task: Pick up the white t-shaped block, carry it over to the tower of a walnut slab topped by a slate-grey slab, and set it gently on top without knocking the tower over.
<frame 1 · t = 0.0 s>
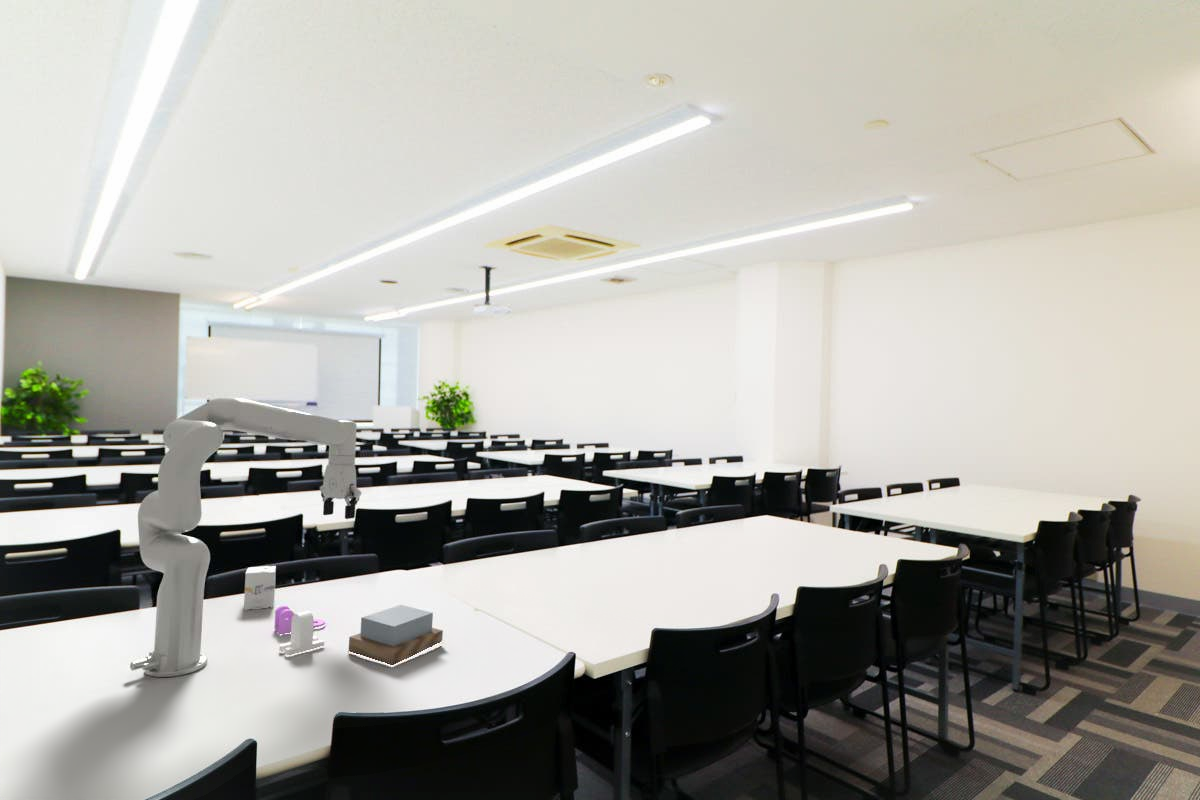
hand: (338, 516, 195), 31 cm above the table, tool pointing down, fingers open, 9 cm apart
bottom block: (396, 652, 172), on the table, touching top block
white t-shaped block: (301, 650, 169), on the table
ink box: (259, 606, 204), on the table
bracket: (301, 630, 185), on the table
top block: (396, 633, 172), point 4 cm above the table, touching bottom block
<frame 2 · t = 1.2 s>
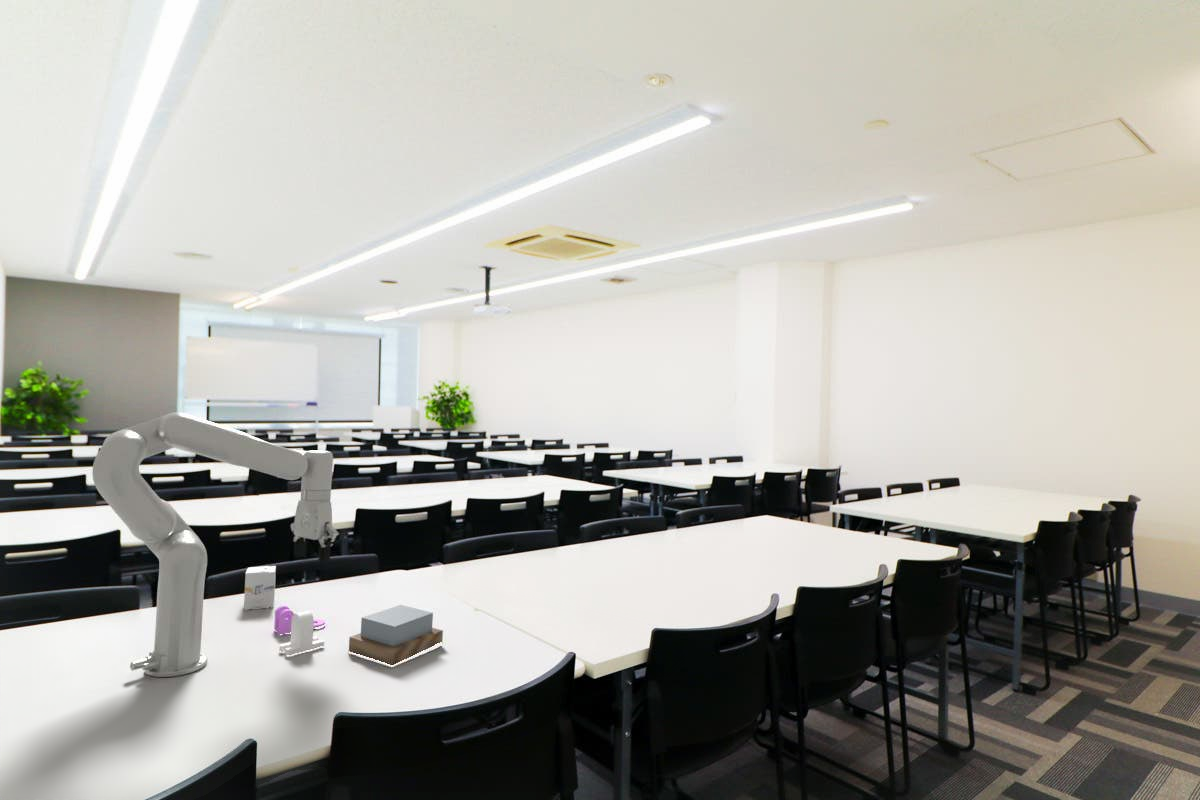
hand: (311, 558, 174), 23 cm above the table, tool pointing down, fingers open, 9 cm apart
nothing on the table moved.
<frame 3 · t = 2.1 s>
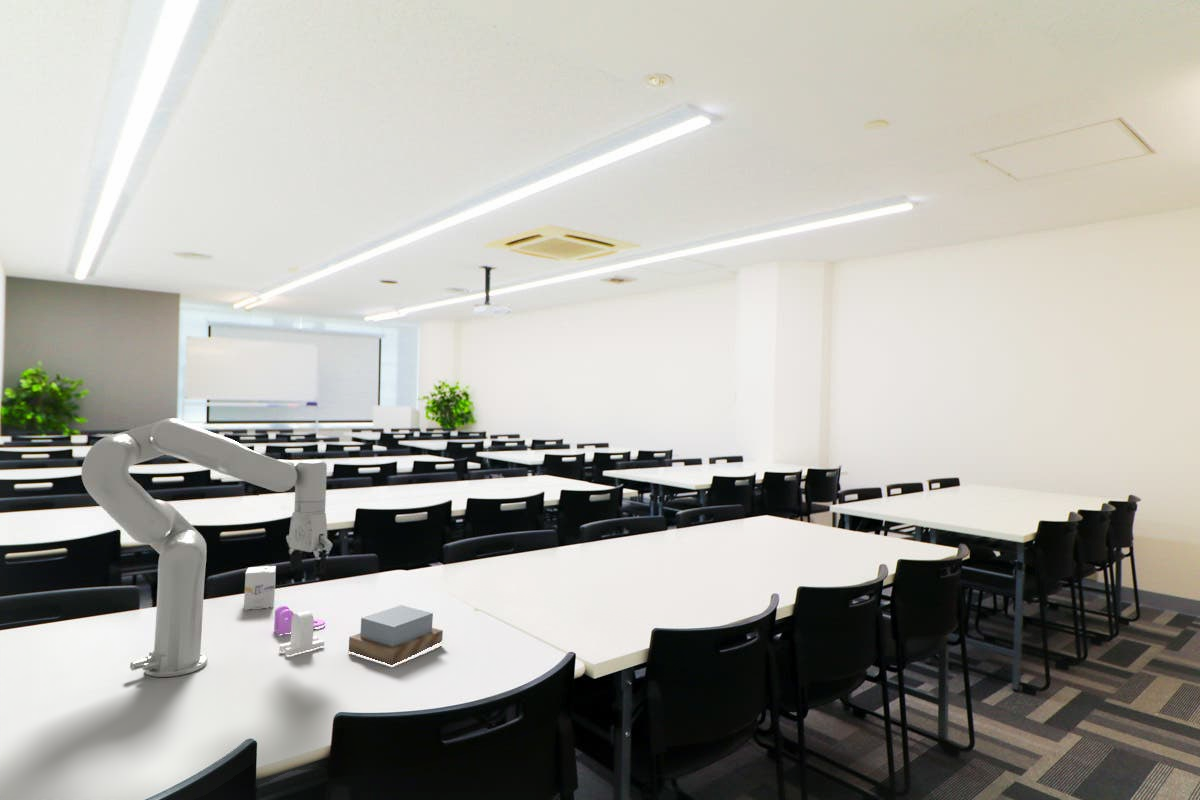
hand: (307, 571, 170), 21 cm above the table, tool pointing down, fingers open, 9 cm apart
bottom block: (396, 652, 172), on the table
top block: (396, 634, 172), point 4 cm above the table
everything else where it was.
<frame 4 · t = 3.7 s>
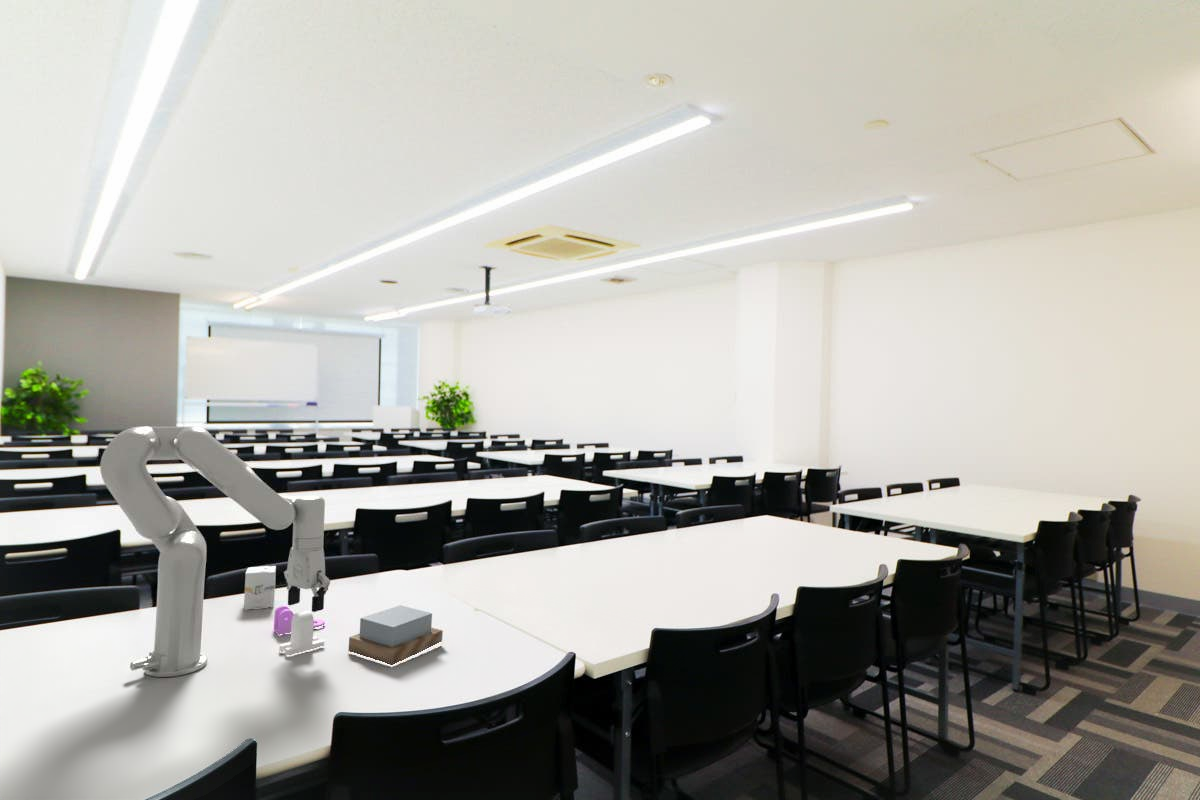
hand: (305, 607, 170), 11 cm above the table, tool pointing down, fingers open, 9 cm apart
bottom block: (396, 652, 172), on the table, touching top block
top block: (395, 634, 172), point 4 cm above the table, touching bottom block
everything else where it was.
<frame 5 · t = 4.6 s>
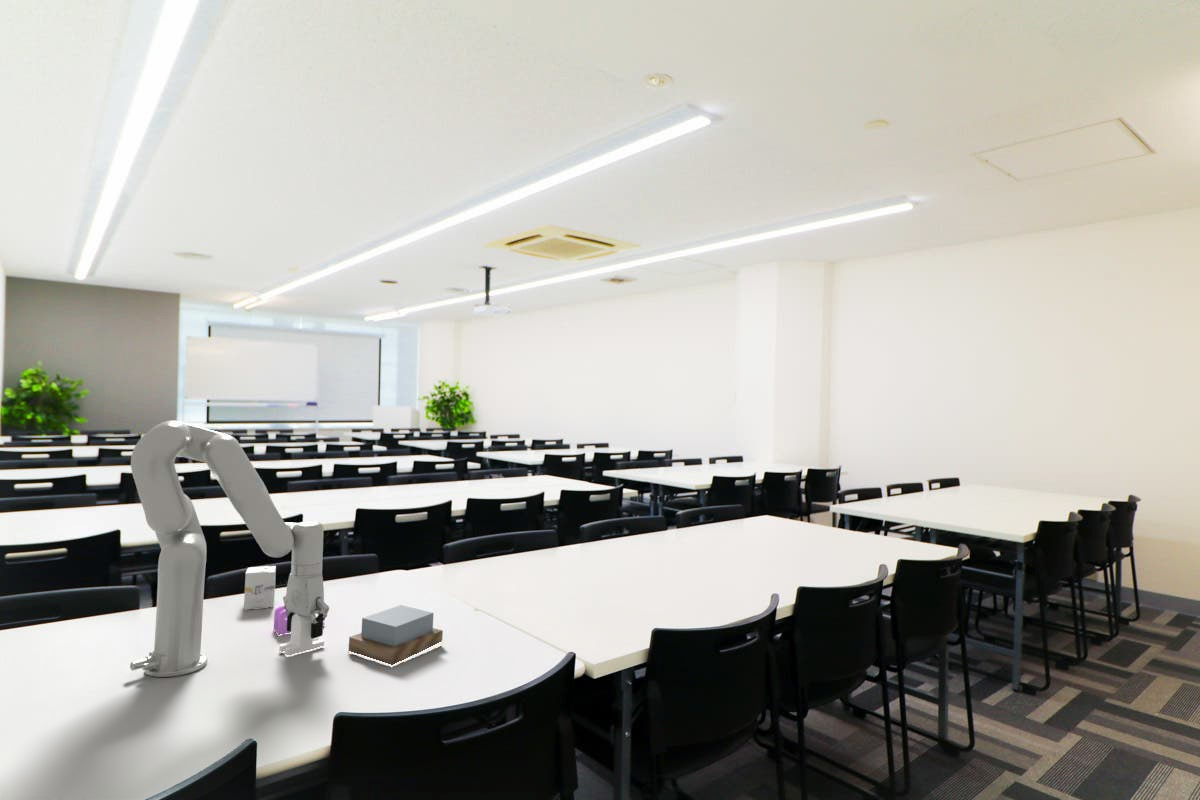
hand: (304, 633, 170), 4 cm above the table, tool pointing down, fingers open, 9 cm apart
nothing on the table moved.
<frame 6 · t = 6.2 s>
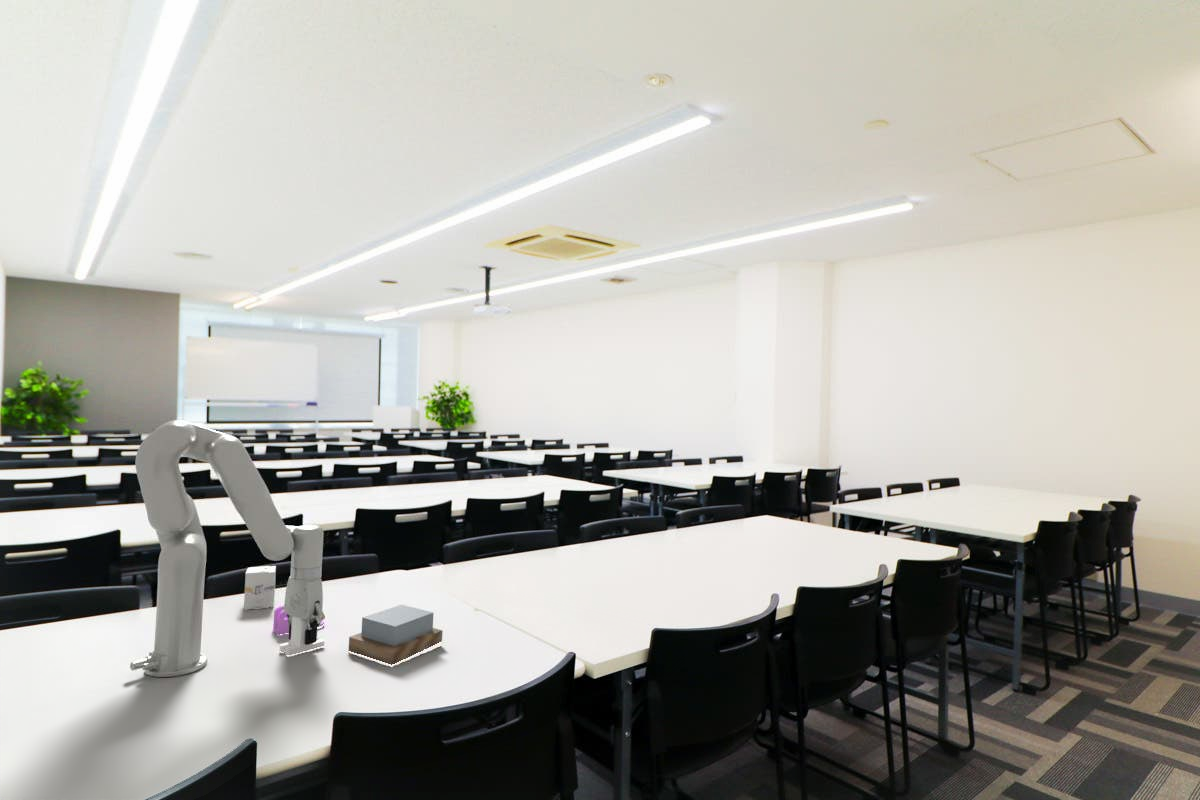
hand: (302, 640, 169), 3 cm above the table, tool pointing down, fingers closed on white t-shaped block, 5 cm apart
white t-shaped block: (302, 650, 169), on the table, touching gripper
everything else where it was.
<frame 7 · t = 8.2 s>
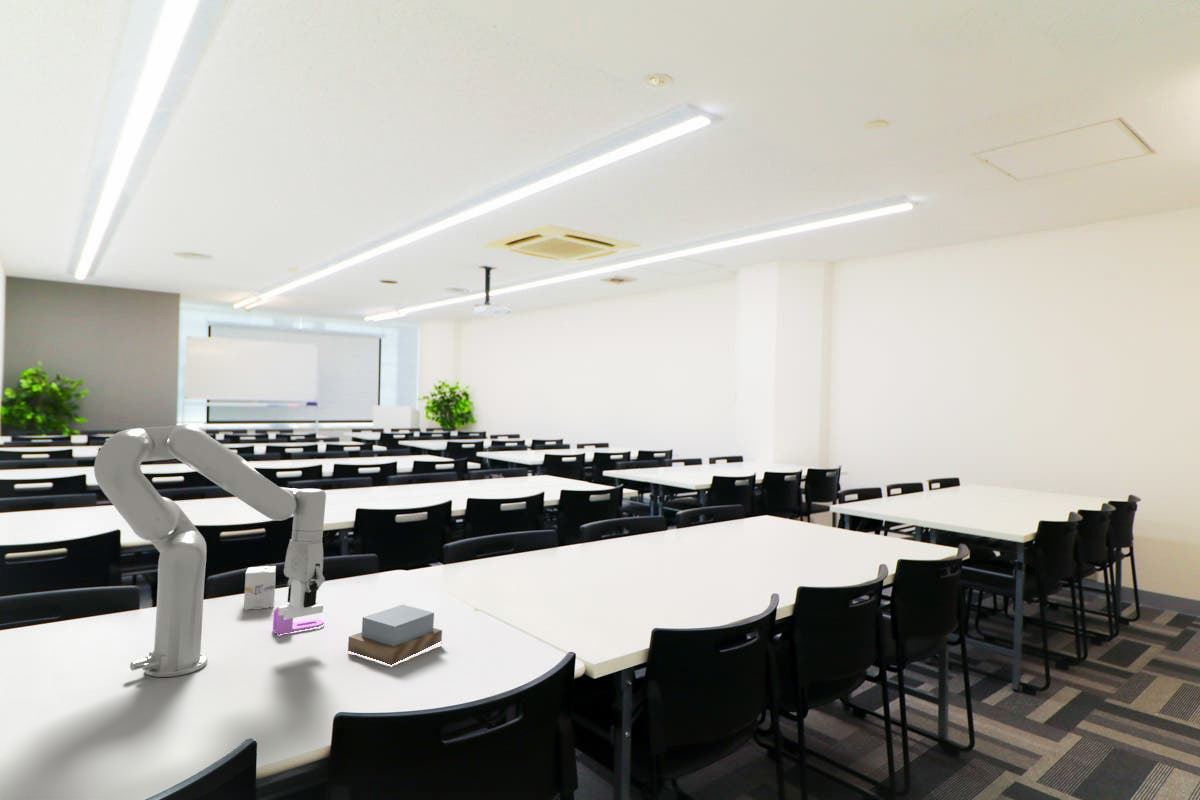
hand: (301, 603, 169), 12 cm above the table, tool pointing down, fingers closed on white t-shaped block, 5 cm apart
white t-shaped block: (300, 613, 169), point 10 cm above the table, touching gripper
everything else where it was.
when the fingers open (14 cm above the table, at t = 15.8 s): white t-shaped block drops 2 cm, point 9 cm above the table.
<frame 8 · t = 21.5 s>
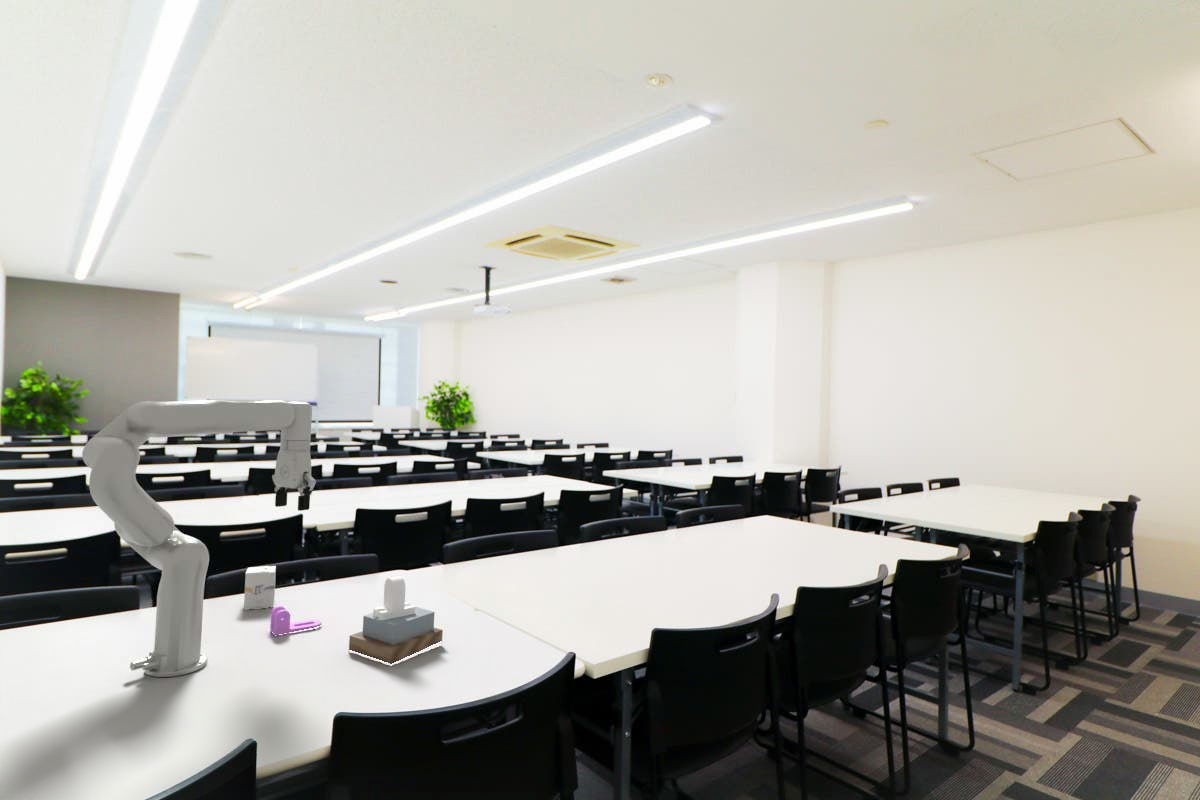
hand: (292, 508, 177), 36 cm above the table, tool pointing down, fingers open, 9 cm apart
white t-shaped block: (394, 615, 172), point 9 cm above the table
top block: (398, 632, 173), point 4 cm above the table, touching bottom block
at the end: white t-shaped block inside the target area on the top block (1.5 cm from its centre), point 4.8 cm above the top block's base; top block 0.4 cm off-centre on the bottom block, point 5.0 cm above the bottom block's base; white t-shaped block tilted 0° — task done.
